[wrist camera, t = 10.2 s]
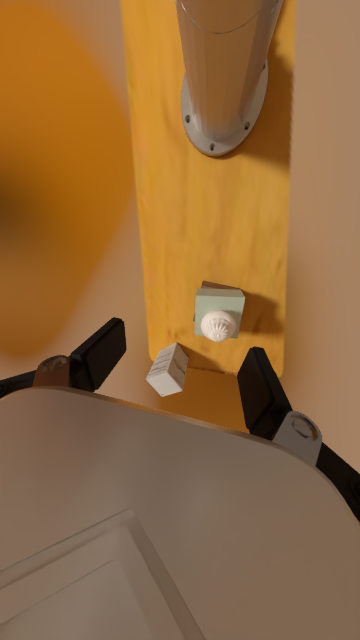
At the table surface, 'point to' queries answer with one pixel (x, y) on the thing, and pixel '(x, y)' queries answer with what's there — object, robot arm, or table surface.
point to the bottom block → (215, 287)
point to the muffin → (218, 325)
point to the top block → (219, 306)
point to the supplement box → (169, 370)
